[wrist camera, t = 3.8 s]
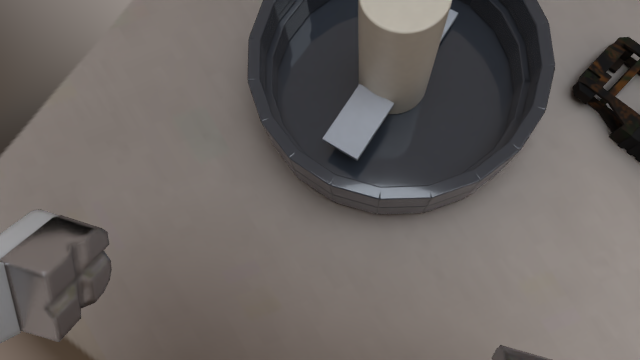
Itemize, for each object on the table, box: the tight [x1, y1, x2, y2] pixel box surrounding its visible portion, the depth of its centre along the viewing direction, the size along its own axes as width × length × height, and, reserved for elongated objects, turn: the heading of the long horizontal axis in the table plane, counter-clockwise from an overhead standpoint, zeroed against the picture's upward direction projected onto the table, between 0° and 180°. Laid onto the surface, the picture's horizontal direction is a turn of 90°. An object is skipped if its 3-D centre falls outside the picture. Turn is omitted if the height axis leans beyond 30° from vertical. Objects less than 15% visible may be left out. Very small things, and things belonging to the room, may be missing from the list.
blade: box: [323, 0, 458, 161], centre depth 23 cm, size 10×4×8 cm, turn 147°
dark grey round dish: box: [248, 0, 555, 214], centre depth 26 cm, size 14×14×4 cm
